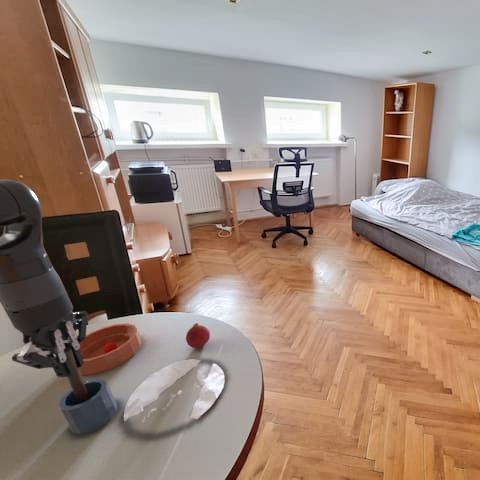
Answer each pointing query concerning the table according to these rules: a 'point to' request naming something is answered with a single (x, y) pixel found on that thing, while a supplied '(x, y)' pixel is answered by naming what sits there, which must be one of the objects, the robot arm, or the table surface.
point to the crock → (89, 407)
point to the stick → (76, 379)
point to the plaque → (166, 378)
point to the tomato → (109, 347)
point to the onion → (197, 336)
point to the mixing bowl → (101, 361)
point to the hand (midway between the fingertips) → (72, 370)
